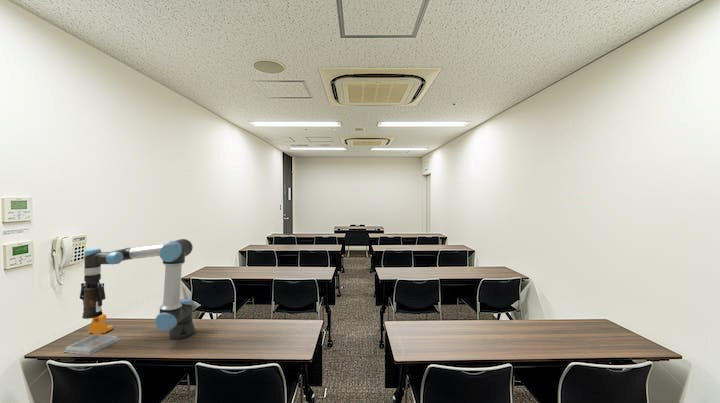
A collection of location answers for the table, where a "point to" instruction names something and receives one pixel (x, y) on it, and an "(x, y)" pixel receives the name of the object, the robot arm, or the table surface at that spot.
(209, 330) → the table surface
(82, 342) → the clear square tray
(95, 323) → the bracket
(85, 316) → the container
